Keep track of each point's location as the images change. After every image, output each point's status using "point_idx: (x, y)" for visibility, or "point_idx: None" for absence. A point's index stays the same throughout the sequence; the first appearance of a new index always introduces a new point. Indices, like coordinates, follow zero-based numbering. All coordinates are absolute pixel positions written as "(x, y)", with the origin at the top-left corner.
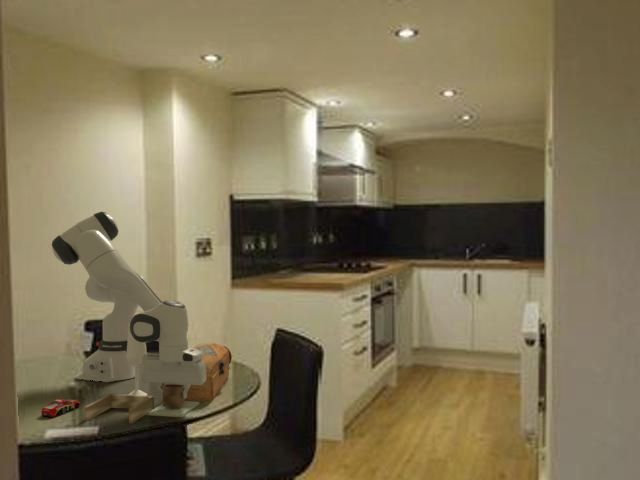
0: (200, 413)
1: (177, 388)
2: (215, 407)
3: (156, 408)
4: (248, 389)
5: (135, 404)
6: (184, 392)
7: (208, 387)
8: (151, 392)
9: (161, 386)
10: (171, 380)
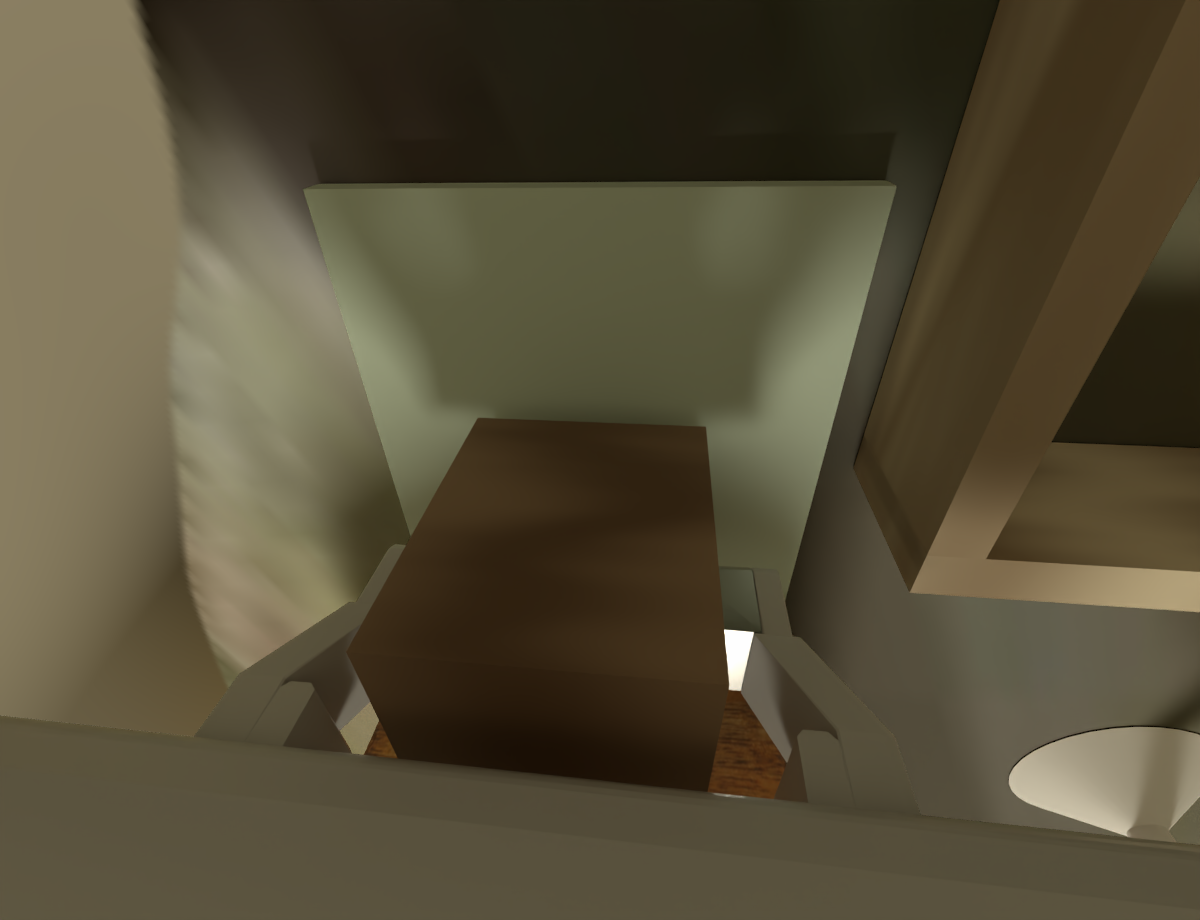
0: (229, 375)
1: (375, 637)
2: (247, 553)
3: (808, 427)
4: None
5: (1167, 481)
6: (351, 610)
7: None
8: (974, 811)
9: (799, 734)
10: (498, 867)
